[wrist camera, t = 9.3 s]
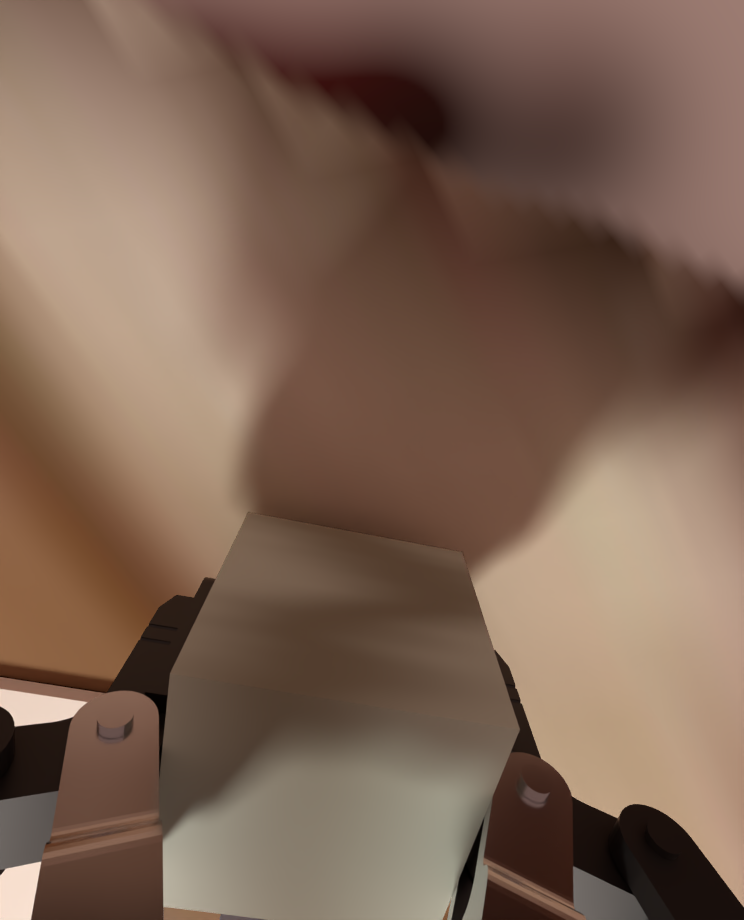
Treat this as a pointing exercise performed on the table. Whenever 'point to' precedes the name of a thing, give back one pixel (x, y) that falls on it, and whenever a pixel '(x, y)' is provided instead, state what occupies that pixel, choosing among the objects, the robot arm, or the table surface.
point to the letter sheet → (13, 892)
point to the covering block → (330, 730)
